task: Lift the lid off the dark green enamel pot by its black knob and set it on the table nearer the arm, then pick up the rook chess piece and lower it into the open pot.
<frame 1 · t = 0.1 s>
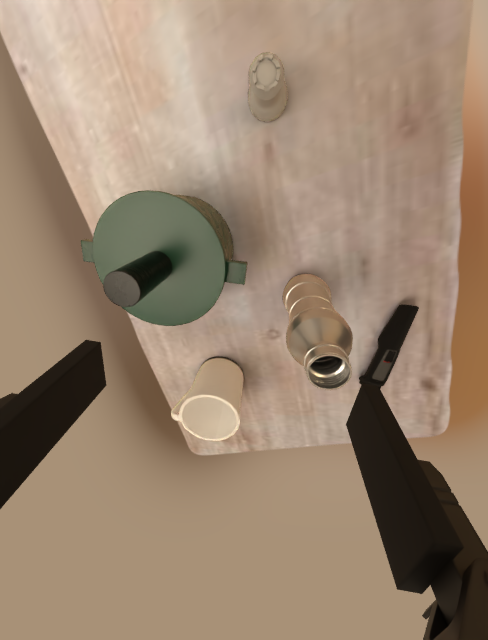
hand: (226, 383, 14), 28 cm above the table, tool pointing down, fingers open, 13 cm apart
lid: (160, 264, 30), point 10 cm above the table, touching pot
mug: (216, 375, 49), on the table
rook chess piece: (267, 99, 31), on the table
silver metal bottle: (304, 290, 40), on the table
electric trimmer: (382, 345, 43), on the table
pot: (186, 247, 39), on the table
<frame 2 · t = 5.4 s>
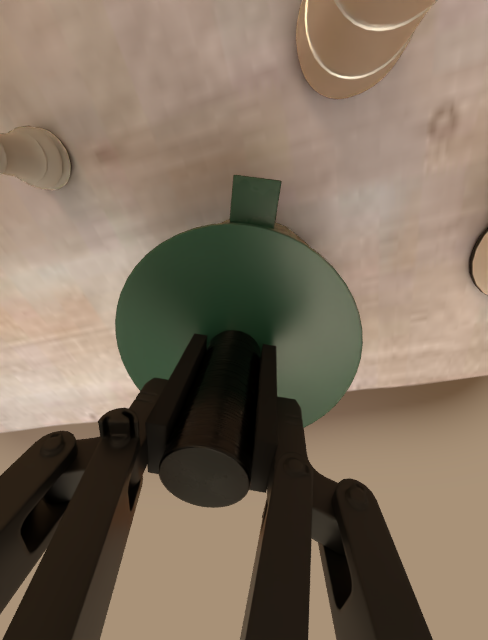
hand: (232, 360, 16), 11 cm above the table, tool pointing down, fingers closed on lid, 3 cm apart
lid: (235, 347, 17), point 10 cm above the table, touching gripper, pot
rook chess piece: (50, 160, 23), on the table
silver metal bottle: (342, 47, 18), on the table
pot: (248, 293, 26), on the table
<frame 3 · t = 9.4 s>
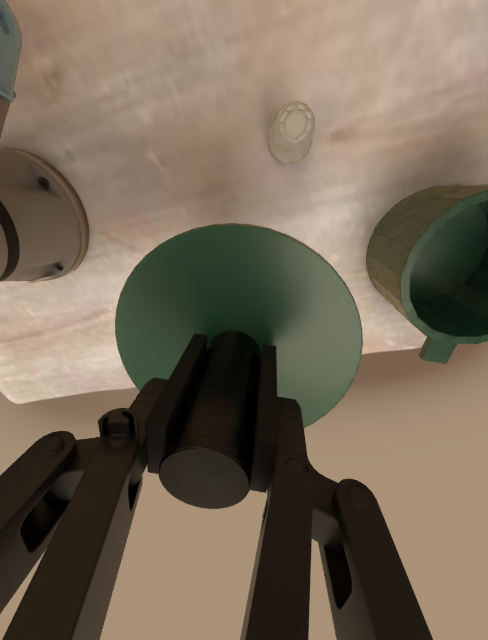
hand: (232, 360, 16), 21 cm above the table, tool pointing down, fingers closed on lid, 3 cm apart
lid: (235, 348, 17), point 20 cm above the table, touching gripper
rook chess piece: (289, 140, 29), on the table
pot: (427, 250, 32), on the table
when the fingers open (2 cm above the table, at t = 13.7 s): lid stays where it is, point 1 cm above the table.
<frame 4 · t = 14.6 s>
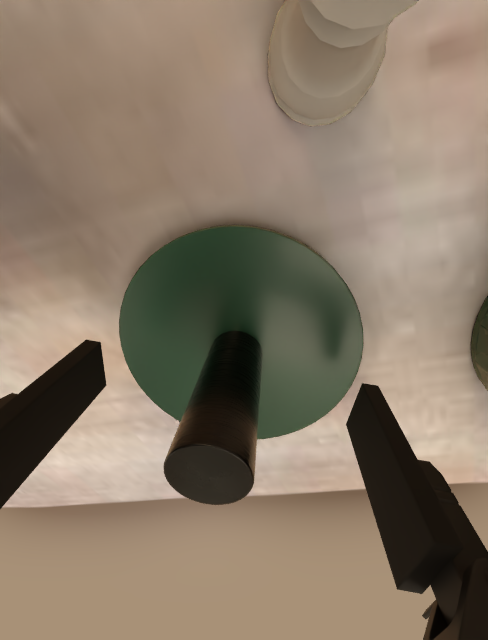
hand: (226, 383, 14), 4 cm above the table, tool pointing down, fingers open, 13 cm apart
lid: (237, 348, 17), point 1 cm above the table
rook chess piece: (319, 66, 12), on the table
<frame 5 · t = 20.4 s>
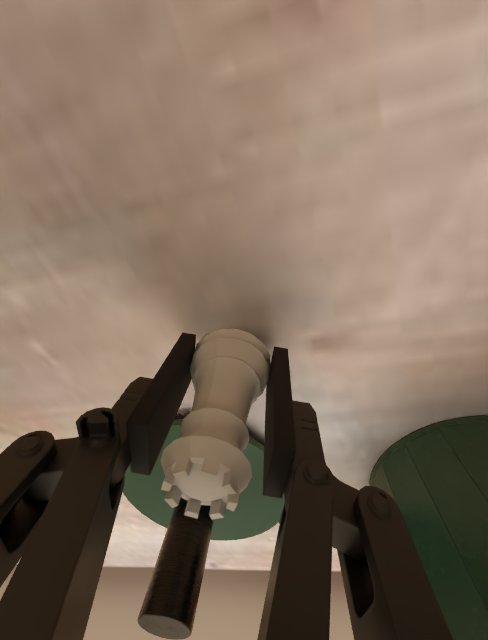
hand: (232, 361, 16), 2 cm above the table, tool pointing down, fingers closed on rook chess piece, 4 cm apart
lid: (202, 483, 23), point 1 cm above the table
rook chess piece: (233, 356, 16), point 2 cm above the table, touching gripper
pot: (464, 483, 21), on the table
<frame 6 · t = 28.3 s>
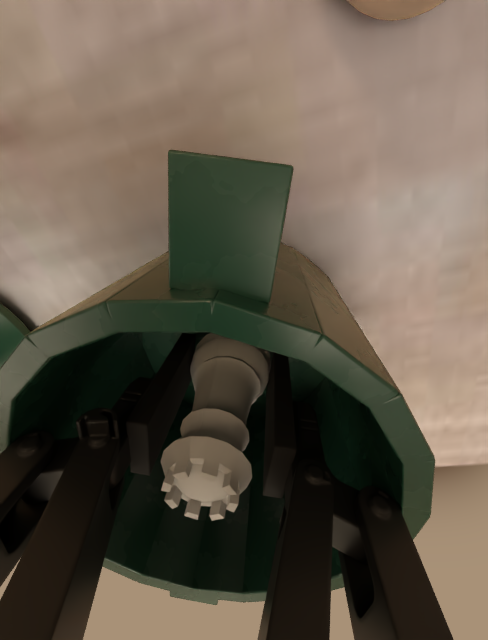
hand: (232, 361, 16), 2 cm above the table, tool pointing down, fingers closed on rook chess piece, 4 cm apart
rook chess piece: (233, 356, 16), point 2 cm above the table, touching gripper
pot: (236, 342, 18), on the table
when the fingers open (3 cm above the table, at t = 36.9 s): rook chess piece stays where it is, resting on pot.
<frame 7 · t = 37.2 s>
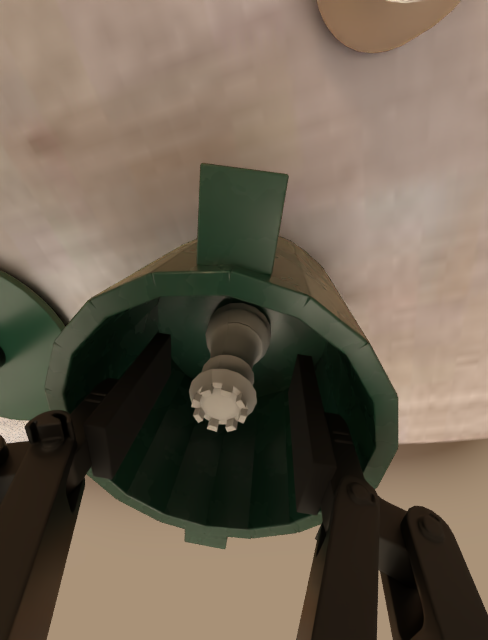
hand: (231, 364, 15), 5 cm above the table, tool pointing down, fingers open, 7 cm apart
rook chess piece: (240, 328, 19), resting on pot
pot: (241, 326, 20), on the table
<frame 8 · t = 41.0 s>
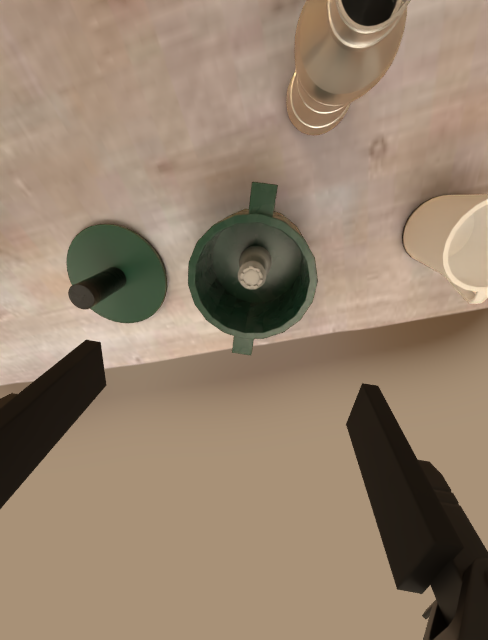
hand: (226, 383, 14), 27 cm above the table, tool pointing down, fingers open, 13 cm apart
lid: (118, 276, 40), point 1 cm above the table
mug: (434, 238, 35), on the table
rook chess piece: (255, 261, 37), resting on pot
silver metal bottle: (315, 104, 30), on the table
pot: (256, 260, 38), on the table
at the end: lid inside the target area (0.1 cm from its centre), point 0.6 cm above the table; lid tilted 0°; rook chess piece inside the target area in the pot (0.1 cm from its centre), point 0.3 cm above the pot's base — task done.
